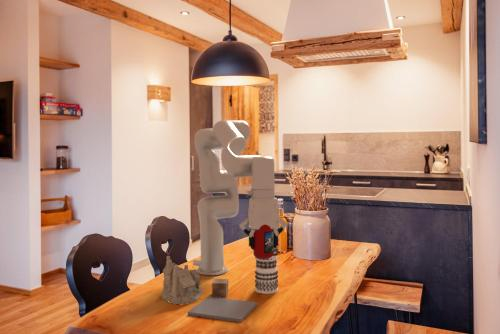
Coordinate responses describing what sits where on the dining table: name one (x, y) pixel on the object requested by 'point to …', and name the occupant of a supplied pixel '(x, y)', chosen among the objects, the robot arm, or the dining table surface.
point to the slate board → (223, 309)
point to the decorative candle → (266, 274)
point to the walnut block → (220, 288)
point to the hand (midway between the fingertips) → (263, 247)
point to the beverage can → (264, 242)
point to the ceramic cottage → (180, 284)
